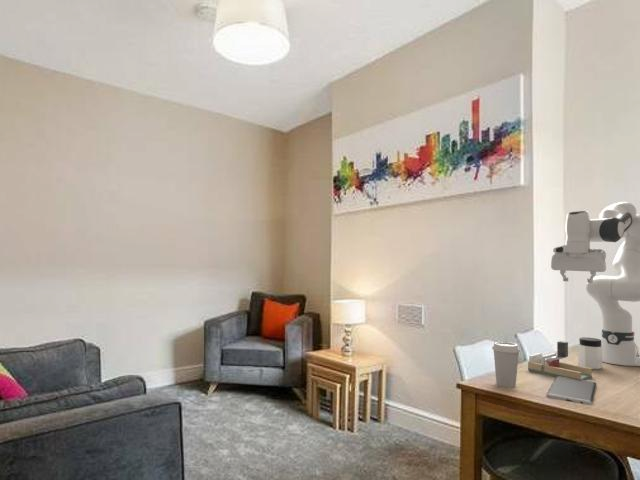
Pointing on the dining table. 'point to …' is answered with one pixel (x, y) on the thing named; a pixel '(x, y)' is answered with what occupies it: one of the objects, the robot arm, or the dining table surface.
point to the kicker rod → (559, 354)
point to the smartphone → (572, 390)
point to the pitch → (564, 369)
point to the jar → (590, 353)
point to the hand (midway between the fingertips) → (577, 282)
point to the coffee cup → (506, 363)
